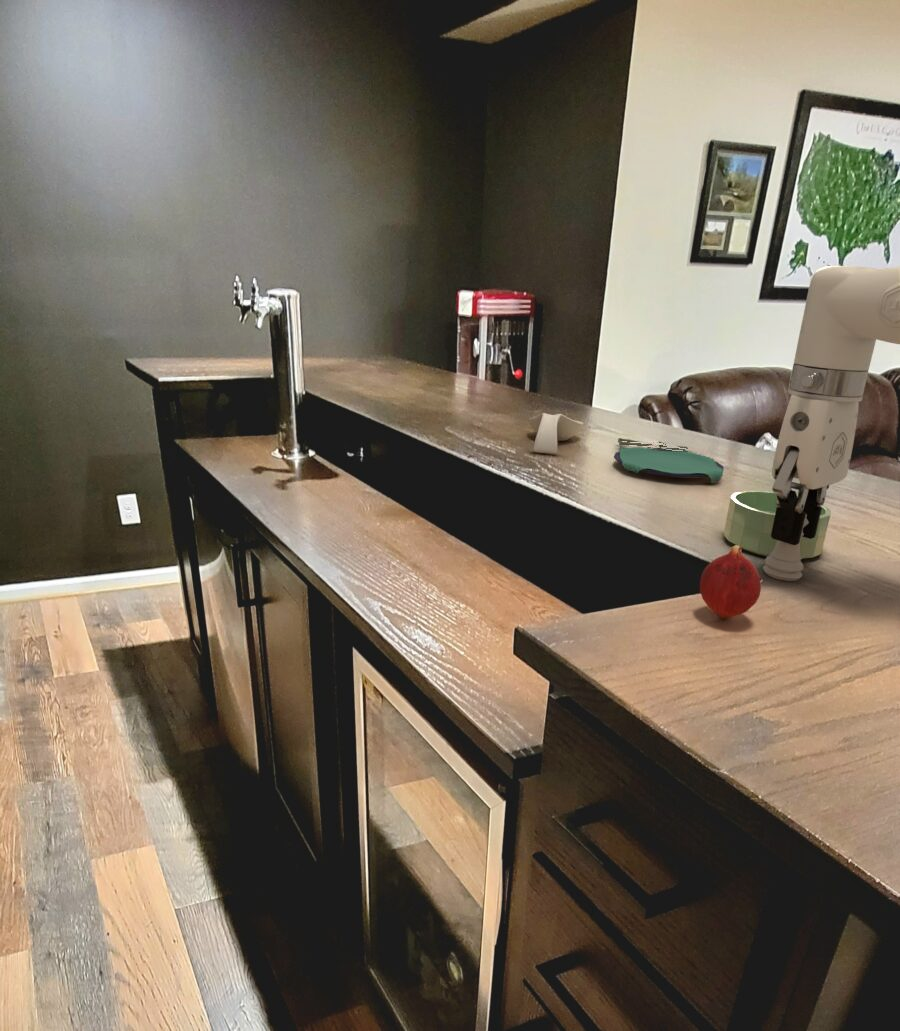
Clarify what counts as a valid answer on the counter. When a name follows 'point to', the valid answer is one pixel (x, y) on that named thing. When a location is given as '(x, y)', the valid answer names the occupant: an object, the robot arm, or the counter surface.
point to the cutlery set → (667, 461)
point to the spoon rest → (552, 431)
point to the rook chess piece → (785, 560)
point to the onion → (730, 584)
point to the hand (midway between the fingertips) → (792, 536)
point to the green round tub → (765, 524)
